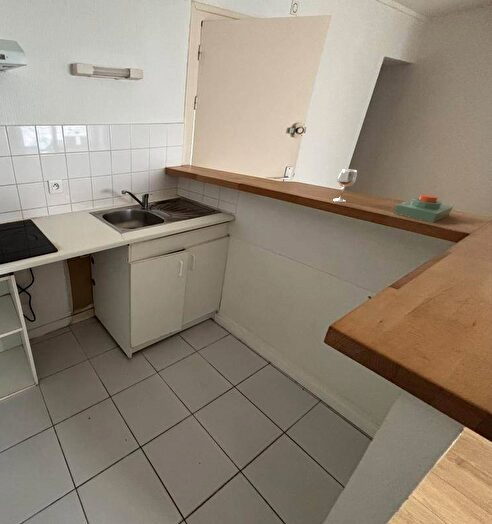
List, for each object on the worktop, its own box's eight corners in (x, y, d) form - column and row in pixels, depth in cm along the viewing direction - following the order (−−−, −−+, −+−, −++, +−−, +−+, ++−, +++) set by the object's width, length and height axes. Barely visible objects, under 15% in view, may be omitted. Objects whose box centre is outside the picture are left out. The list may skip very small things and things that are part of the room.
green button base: (410, 207, 107) (416, 194, 104) (448, 215, 99) (456, 201, 96) (392, 213, 101) (399, 199, 98) (432, 222, 92) (440, 208, 90)
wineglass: (335, 202, 112) (346, 171, 106) (328, 198, 117) (338, 168, 111) (350, 202, 112) (362, 171, 106) (342, 198, 117) (353, 168, 111)
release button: (421, 199, 100) (424, 193, 99) (437, 202, 97) (440, 196, 96) (416, 201, 98) (418, 195, 97) (432, 204, 95) (435, 198, 94)
